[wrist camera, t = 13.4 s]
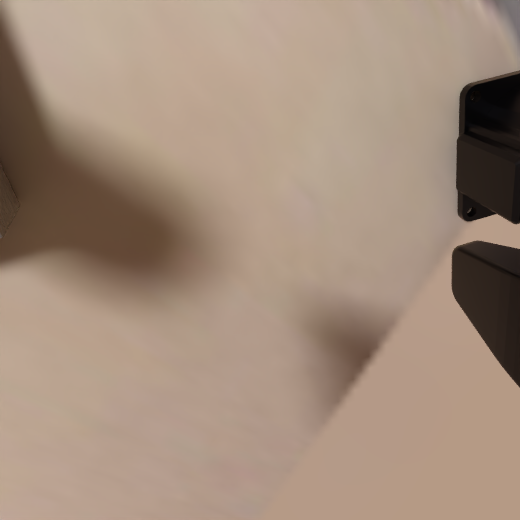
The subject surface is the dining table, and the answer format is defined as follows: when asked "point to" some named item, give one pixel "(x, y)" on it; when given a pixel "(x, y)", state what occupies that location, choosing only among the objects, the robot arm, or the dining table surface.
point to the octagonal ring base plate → (6, 203)
